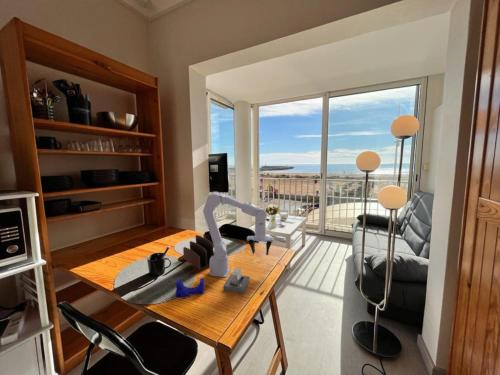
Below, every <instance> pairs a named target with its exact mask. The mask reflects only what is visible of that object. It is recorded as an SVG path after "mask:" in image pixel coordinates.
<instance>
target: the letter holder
mask: <svg viewBox="0 0 500 375" xmlns="http://www.w3.org/2000/svg"><path fill="white" fill-rule="evenodd" d="M182 250H183V252H182V253H183V259H184V260H185V261H186V262H188V263H189V264H191V265H192V266H194V268H197V270H199V271H202V270H203V269H206V268H210V265H209V262H210V258H211V257H212V256H214V253H215V250H214V245H213V241H211V240H209V239H207V238H206V237H204V236H201V235H197V234H195V241H192V240H190V241H189V248H188V247H186V246H183V248H182Z"/></svg>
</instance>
